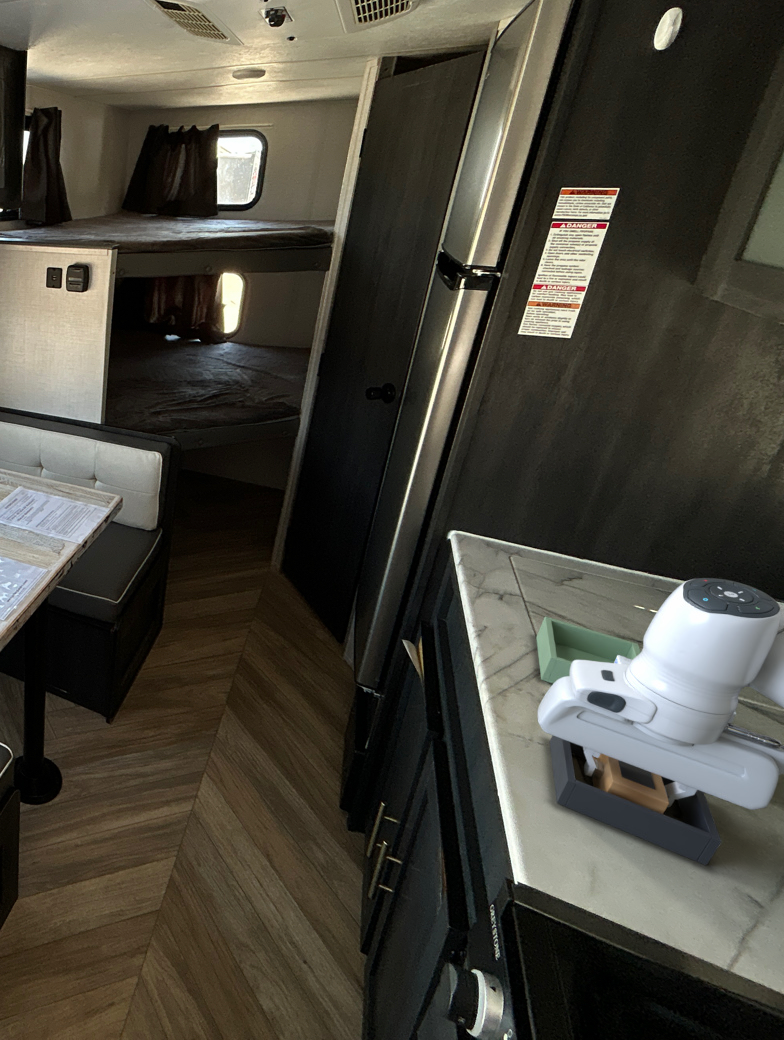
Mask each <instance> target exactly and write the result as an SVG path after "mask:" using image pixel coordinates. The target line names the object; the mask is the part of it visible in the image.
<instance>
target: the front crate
mask: <svg viewBox="0 0 784 1040" xmlns="http://www.w3.org/2000/svg"><path fill="white" fill-rule="evenodd" d="M549 748H550V758H551V765H552V774H553V782H554V790H555V797H556V798H555V799H556V804H558V805H561V806H563V807H566V808H568V809H571V810H573V811H575V812H578V813H579V814H583V815H584V816H587V817H590V818H592V819H595V820H597V821H599V822H602V823H604V824H606V825H609V826H611V827H612V828H613V827H614V828H616V829H618V830H621V831H623V832H626V833H627V834H630V835H632V836H635V837H637V838H640V839H642V840H645V841H647V842H648V843H649V842H650V843H652V844H654V845H656V846H659V847H661V848H663V849H666V850H669V851H671V852H673V853H675V854H678V855H680V856H683V857H685V858H688V859H690V860H692V861H694V862H697V863H699V864H701V865H704V866H707V865H708V864H709V863H710V861H711V859H712V858H713V856H714V855H715V853H716V852H717V850H718V849H719V847H720V846H721V844H722V839H721V836H720V834H719V831H718V828H717V825H716V822H715V820H714V817H713V813H712V811H711V809H710V806H709V802H708V801H707V798H706V793H705V792H702V791H699V790H697V791H696V793H695V794H694V795H692V796H688V797H684V798H680V799H676V800H677V803H678V806H679V809H680V813H681V815H682V818H683V821H684V822H683V821H681V820H678V819H675V818H673V817H670V816H668V815H666V814H664V813H663V814H661V813H658V812H656V811H653V810H650V809H648V808H645V807H643V806H640V805H638V804H635V803H633V802H630V801H628V800H625V799H623V798H620V797H618V796H615V795H613V794H610V793H608V792H605V791H603V790H600V789H598V788H595V787H594V786H593V785H590V784H588V783H585V782H583V781H581V780H577V779H576V775H575V767H574V761H573V755H574V756H576V757H579V758H582V759H585V760H587V759H586V757H585V754H584V750H583V747H582V746H580V745H577V744H575V743H572V742H569V741H567V740H564V739H561V738H559V737H556V736H553V735H551V738H550V740H549ZM661 777H662V776H661ZM662 781H663V784H664V786H665V785H668V784H670V783H673V782H675V781H673V780H670V779H668V778H665V777H662Z"/></svg>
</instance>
